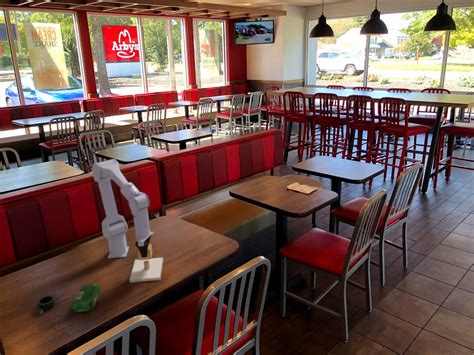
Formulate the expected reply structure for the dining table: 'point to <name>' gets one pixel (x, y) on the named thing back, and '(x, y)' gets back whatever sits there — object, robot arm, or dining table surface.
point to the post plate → (146, 270)
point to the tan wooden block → (147, 255)
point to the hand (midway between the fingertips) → (145, 253)
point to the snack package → (86, 298)
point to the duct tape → (46, 303)
